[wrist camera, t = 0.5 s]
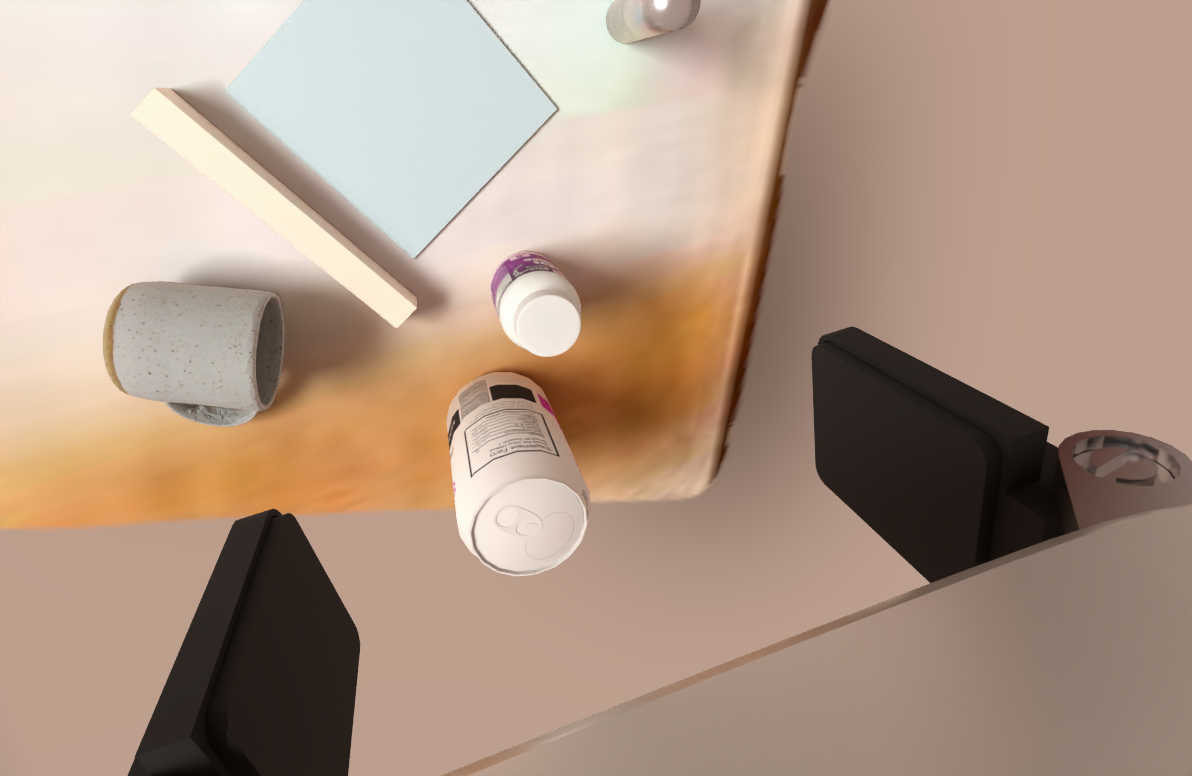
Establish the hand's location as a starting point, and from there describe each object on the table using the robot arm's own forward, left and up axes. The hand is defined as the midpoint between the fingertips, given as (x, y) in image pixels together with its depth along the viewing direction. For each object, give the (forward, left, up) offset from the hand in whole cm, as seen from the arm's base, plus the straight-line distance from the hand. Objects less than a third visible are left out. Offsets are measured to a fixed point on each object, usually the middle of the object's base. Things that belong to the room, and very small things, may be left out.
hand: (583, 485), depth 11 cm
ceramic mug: (-4, -18, -36) cm, 40 cm away
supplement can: (+14, -10, -36) cm, 39 cm away
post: (0, +16, -35) cm, 39 cm away
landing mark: (-6, +2, -35) cm, 36 cm away
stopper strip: (-6, -8, -35) cm, 37 cm away
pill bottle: (+8, -1, -36) cm, 36 cm away
